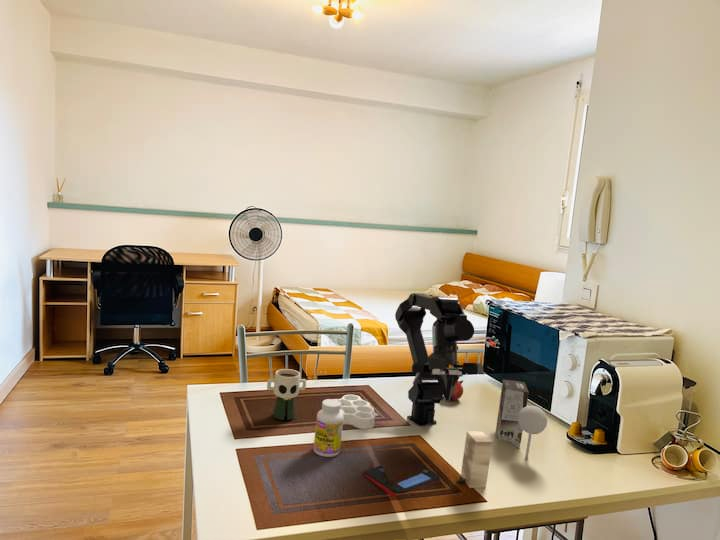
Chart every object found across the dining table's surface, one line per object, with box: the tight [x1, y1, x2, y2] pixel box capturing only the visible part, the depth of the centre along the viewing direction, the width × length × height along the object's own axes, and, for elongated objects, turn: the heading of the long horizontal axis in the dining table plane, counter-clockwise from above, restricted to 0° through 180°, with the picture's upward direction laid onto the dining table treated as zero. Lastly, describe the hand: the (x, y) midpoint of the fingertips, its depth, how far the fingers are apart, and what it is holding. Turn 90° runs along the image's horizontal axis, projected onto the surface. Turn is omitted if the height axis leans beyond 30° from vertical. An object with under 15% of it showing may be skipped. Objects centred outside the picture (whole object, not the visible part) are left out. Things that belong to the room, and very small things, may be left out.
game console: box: [362, 465, 441, 499], centre depth 119 cm, size 14×13×2 cm
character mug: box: [266, 368, 307, 421], centre depth 144 cm, size 11×7×13 cm, turn 106°
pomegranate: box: [442, 379, 464, 401], centre depth 173 cm, size 7×7×10 cm
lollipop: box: [518, 405, 548, 460], centre depth 133 cm, size 7×7×15 cm
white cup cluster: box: [333, 394, 379, 430], centre depth 151 cm, size 3×18×15 cm
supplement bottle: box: [313, 398, 344, 458], centre depth 127 cm, size 7×7×13 cm
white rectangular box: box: [456, 431, 494, 489], centre depth 117 cm, size 5×6×11 cm
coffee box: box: [495, 379, 530, 448], centre depth 145 cm, size 9×6×16 cm
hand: (447, 400), depth 138 cm, fingers closed
